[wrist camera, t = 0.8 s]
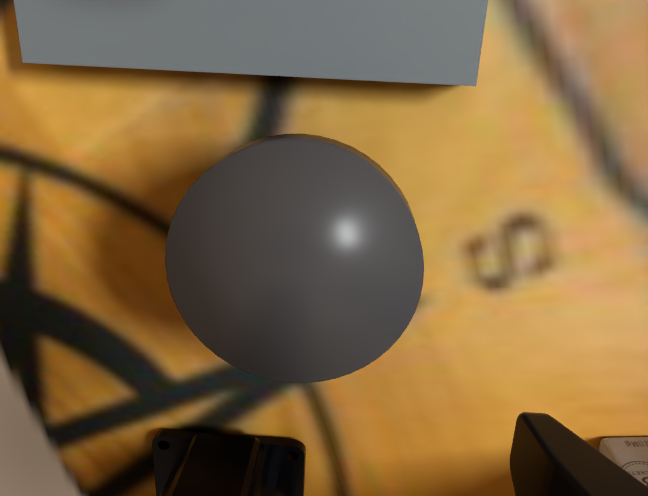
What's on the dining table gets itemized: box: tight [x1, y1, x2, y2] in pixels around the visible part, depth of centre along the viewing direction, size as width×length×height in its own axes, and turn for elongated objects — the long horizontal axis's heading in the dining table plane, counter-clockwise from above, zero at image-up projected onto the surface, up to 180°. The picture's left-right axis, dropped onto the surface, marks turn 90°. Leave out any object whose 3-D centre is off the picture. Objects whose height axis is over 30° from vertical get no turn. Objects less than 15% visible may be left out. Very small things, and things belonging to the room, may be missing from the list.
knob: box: [165, 134, 424, 383], centre depth 17 cm, size 7×7×5 cm
